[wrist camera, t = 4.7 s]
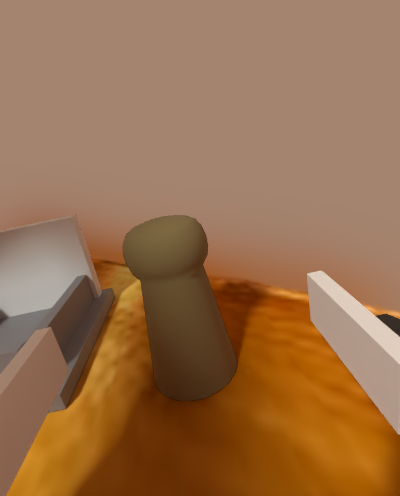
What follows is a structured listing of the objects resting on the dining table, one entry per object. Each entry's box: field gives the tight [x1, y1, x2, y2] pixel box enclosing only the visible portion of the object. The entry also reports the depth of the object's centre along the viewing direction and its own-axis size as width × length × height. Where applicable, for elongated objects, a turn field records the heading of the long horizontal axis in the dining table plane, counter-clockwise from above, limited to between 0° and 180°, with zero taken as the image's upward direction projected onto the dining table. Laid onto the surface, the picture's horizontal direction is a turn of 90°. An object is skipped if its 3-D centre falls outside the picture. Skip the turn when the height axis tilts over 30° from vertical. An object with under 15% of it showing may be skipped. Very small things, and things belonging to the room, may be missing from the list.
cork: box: [123, 215, 237, 401], centre depth 19 cm, size 6×6×11 cm
